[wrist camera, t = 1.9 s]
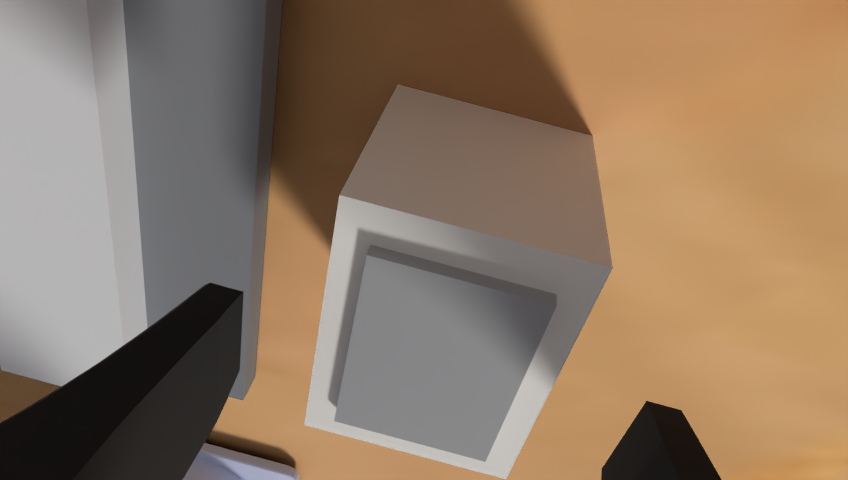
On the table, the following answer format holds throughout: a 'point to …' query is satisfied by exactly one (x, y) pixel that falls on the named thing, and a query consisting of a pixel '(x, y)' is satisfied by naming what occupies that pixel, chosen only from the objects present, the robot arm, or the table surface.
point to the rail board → (130, 171)
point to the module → (456, 280)
